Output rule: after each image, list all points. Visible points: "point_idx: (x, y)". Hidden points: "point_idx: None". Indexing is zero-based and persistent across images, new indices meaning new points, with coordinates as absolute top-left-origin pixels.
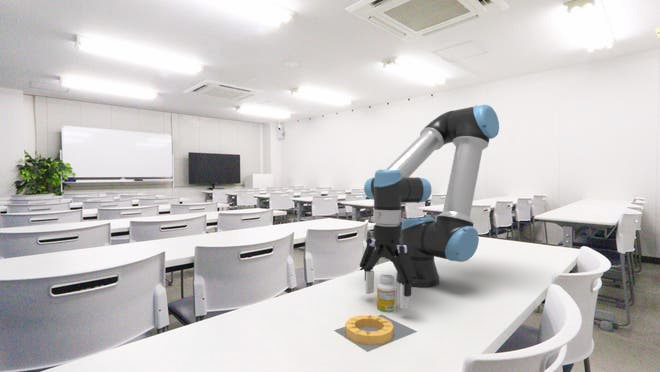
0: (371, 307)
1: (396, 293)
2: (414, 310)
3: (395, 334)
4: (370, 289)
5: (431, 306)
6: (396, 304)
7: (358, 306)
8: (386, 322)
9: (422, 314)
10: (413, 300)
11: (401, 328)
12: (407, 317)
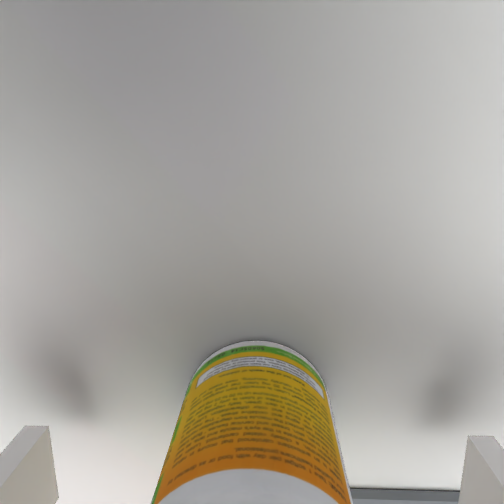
0: (151, 439)
1: (340, 474)
2: (386, 234)
3: None
4: (34, 494)
5: (434, 27)
6: (323, 399)
7: (90, 490)
8: None
9: (477, 246)
10: (228, 49)
11: None
12: (430, 373)
